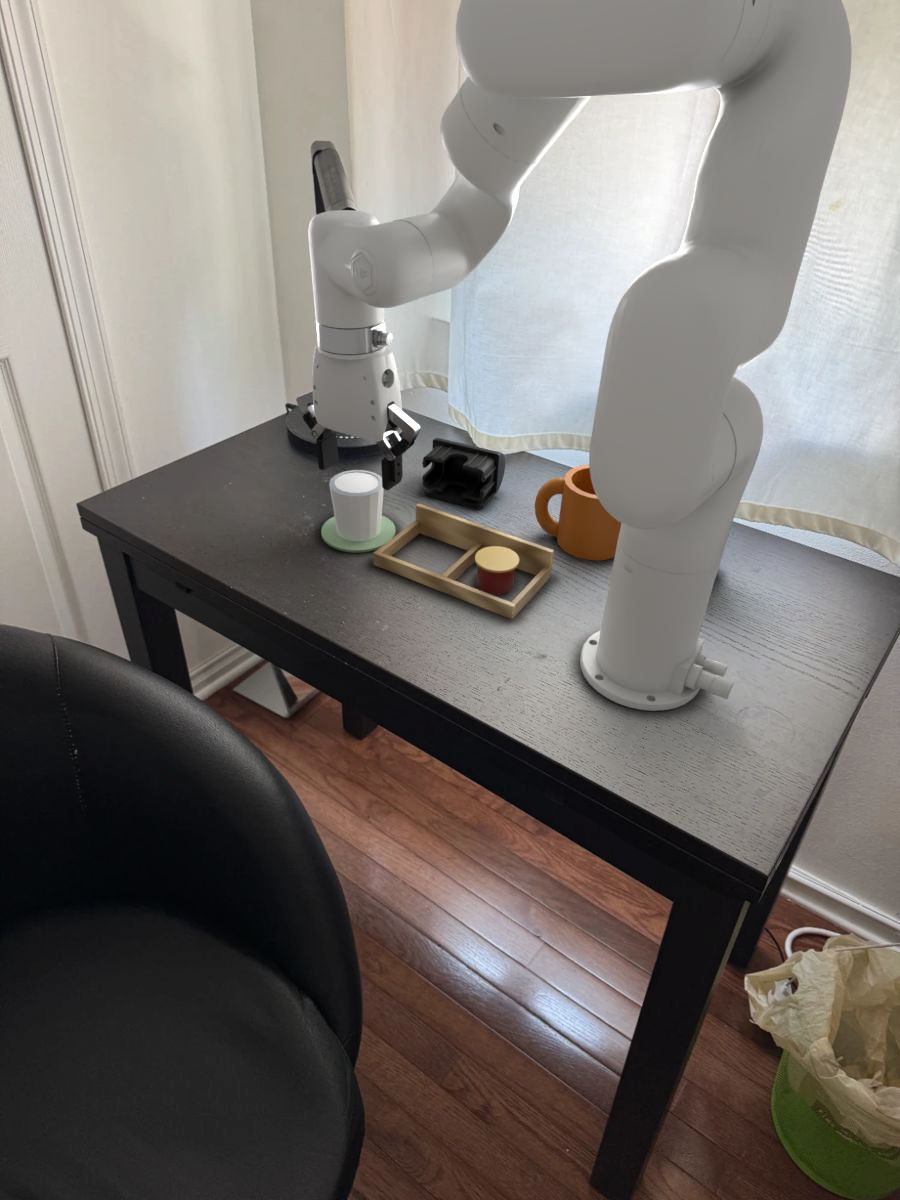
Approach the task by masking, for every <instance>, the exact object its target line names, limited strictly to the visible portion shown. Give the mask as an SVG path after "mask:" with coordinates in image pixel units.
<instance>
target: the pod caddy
mask: <svg viewBox="0 0 900 1200" xmlns="http://www.w3.org/2000/svg"><path fill="white" fill-rule="evenodd" d="M420 534H421V535H424V536H426V537H429V538H432V539H434V540H437V541H440V542H443V543H445V544H448V545H451V546H454V547H456V548H459V549H462V550H465V551H466V552H465V553H464V554H463V555H462V556H461V557H460V558H458V559H457V560H456V561H455V562H454V563H453V564H452V565H450V567H448V568H447V569H446V570H445V571H444V572H443V573H442V574H438V573H436V572H434V571H431V570H428V569H425V568H423V567H421V566H418V565H415V564H414V563H413V564H412V563H411V562H407V561H405V560H402V559H400V558H397V557H394V556H393V555H394V554H396V553H397V552H399V550H400V549H402V548H404V547H405V546H406V545H407V544H408V543H409V542H411V541H412V540H413V539H415V538H416V537H418V535H420ZM490 546H500V547H505V548H508V549H511V550H512V551H514V552H515V553H516V554H517V555H518V557H519V564H518V566H517V567H516V568H515V569H517V570H520V571H523V572H526V573H528V574H531V575H534V577H533V578H532V579H531V580H530V581H529V582H528V584H527V585H526V586H524V588H523V589H521V591H520V592H519V593H518V594H517V595H516V596H515V597H514V598H513V599H512V601H509V600H506V599H504V598H502V597H498V596H497V595H494V594H489V593H486V592H484V591H482V590H481V589H479V588H475V587H473V586H469V585H467V584H464V583H462V582H460V581H457V579H458V578H460V577H461V576H462V575H463V574H464V573H465V572H466V571H467V570H468V569H469V568H470V567H471V566H472V565H473V564H475V563H476V562H475V555H476V553H477V552H478V551H479V550H481V549H483V548H485V547H490ZM372 555H373V557H372V558H373V559H372V560H373V566H375V567H378V568H381V569H382V570H386V571H388V572H390V573H393V574H396V575H398V576H401V577H403V578H405V579H408V580H411V581H413V582H416V583H418V584H421V585H423V586H425V587H429V588H431V589H434V590H436V591H439V592H441V593H444V594H446V595H449V596H452V597H454V598H456V599H459V600H462V601H464V602H467V603H469V604H472V605H474V606H476V607H479V608H482V609H484V610H487V611H490V612H492V613H494V614H497V615H500V616H502V617H505V618H507V619H510V620H513V619H514V618H515V617H516V616H517V615H518V614H519V613H520V612H521V611H522V610H523V608H524V607H525V606H526V605H527V604H528V603H530V601H531V599H533V598H534V596H535V595H536V594H537V593H538V592H539V591H540V590H541V589H542V588H543V586H544V585H545V584H546V583H547V582H549V580H550V579H551V576H552V571H553V570H552V569H553V563H554V555H555V549H553V548H549V547H546V546H543V545H540V544H538V543H535V542H532V541H529V540H526V539H523V538H521V537H518V536H515V535H511V534H509V533H506V532H504V531H500V530H497V529H494V528H492V527H488V526H485V525H482V524H480V523H477V522H474V521H471V520H468V519H466V518H462V517H459V516H457V515H454V514H451V513H448V512H445V511H443V510H442V511H441V510H439V509H437V508H434V507H431V506H428V505H425V504H421V503H417V504H415V520H414V521H413V522H412V523H410V524H409V525H408V526H407V527H405V528H404V529H402V530H401V531H400V532H398V533H397V534H395V537H393V538H392V539H391V540H390V541H388V542H387V543H386V544H384V545H383V546H382V547H380V548H379V549H377V550H374V551H373V552H372Z"/></svg>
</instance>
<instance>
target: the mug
mask: <svg viewBox="0 0 900 1200" xmlns="http://www.w3.org/2000/svg"><path fill="white" fill-rule="evenodd" d="M556 495H561V501H560V509H559V516H558V521H557V520H556V519H554V518H553V517H552V516H551V514H550V511H549V503H550V501H551V499H552V498H553V497H554V496H556ZM534 514H535V517H536V520H537V522H538V525H539V526H540V528H541V529H542V530H543V531H544V532H545V533H546V534H548V535H550V536H551V537H553V538H556V542H557V544H558V546H559V547H560V548H561V550H563V551H564V552H566V553H567V554H568V555H571V556H573V557H575V558H578V559H582V560H586V561H606V560H611V559H614V558H615V552H616V547H617V542H618V537H619V533H620V528H621V522H619V521H618V520H616V519H615V518H614V517H612V516H611V515H610V514H609V513H608V512H607V511H606V510H605V508H604V507H603V506H602V504H601V503H600V501H599V499H598V497H597V495H596V493H595V491H594V488H593V485H592V481H591V476H590V467H589V464H583V465H578V466H576V467H573V468H570V470H568V471H567V472H565V476H564V477H555V478H552V479H548V481H546V482H545V483H543V485H542V486H541V487H540V488H539V490H538V492H537V494H536V496H535V500H534Z"/></svg>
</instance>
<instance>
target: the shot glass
mask: <svg viewBox="0 0 900 1200" xmlns="http://www.w3.org/2000/svg"><path fill="white" fill-rule="evenodd" d="M328 484H329V491H330V498H331V504H332V510H333V517H334V516H335V522H336V528H337V532H338V534H339V536H341V537H342V538H344V539H346V540H350V541H367V540H370V539H373V538H375V537H376V536H377V535H378V534H379V533H380V528H381V516H382V515H383V502H384V491H385V489H383V487H382V475H380V474H377V473H376V472H373V471H370V470H364V469H352V470H345V471H342V472H339V473H336V474H335V475H334V476H332V477H331V478H330V479H329V483H328Z"/></svg>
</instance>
